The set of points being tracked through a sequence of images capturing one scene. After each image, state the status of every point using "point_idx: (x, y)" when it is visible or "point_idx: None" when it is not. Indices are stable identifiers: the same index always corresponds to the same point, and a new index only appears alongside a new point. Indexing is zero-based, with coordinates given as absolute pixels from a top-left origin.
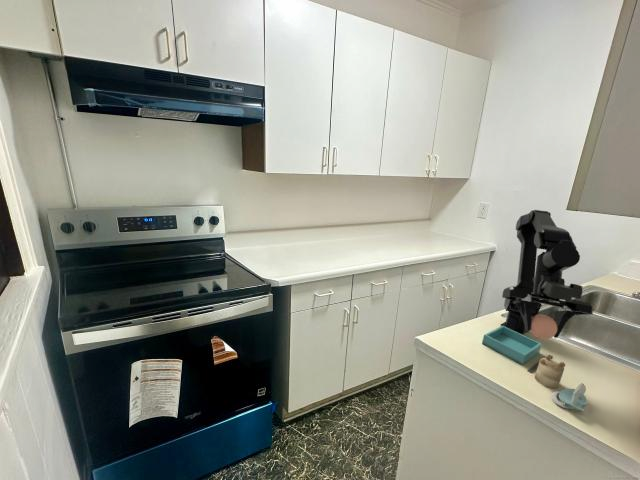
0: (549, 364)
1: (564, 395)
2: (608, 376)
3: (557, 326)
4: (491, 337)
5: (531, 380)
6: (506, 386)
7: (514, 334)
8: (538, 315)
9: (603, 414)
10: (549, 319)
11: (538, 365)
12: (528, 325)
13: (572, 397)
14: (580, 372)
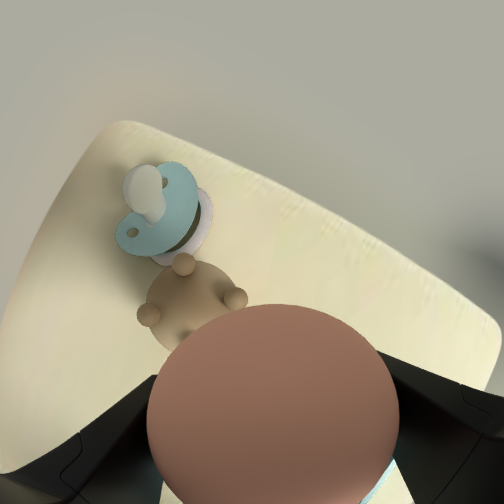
0: (203, 301)
1: (173, 230)
2: (20, 418)
3: (139, 442)
4: None
5: (254, 293)
6: (335, 219)
7: None
8: (374, 467)
9: (93, 218)
10: (261, 414)
11: None
12: (396, 361)
13: (162, 199)
14: (77, 419)
